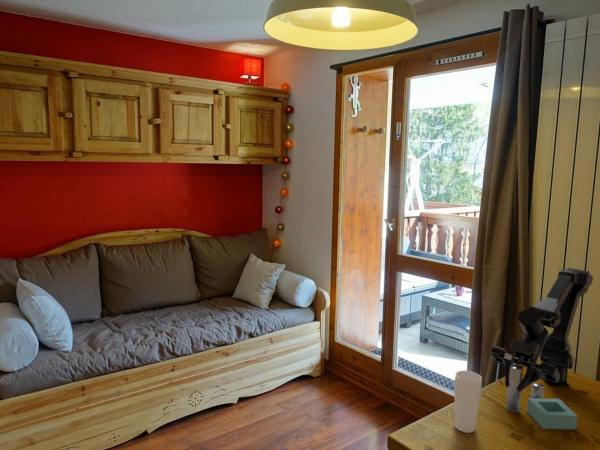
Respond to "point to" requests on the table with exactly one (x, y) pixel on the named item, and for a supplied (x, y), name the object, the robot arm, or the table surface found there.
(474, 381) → the drinking glass
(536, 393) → the short pin
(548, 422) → the hole block
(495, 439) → the table surface
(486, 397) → the table surface
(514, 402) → the tall pin
